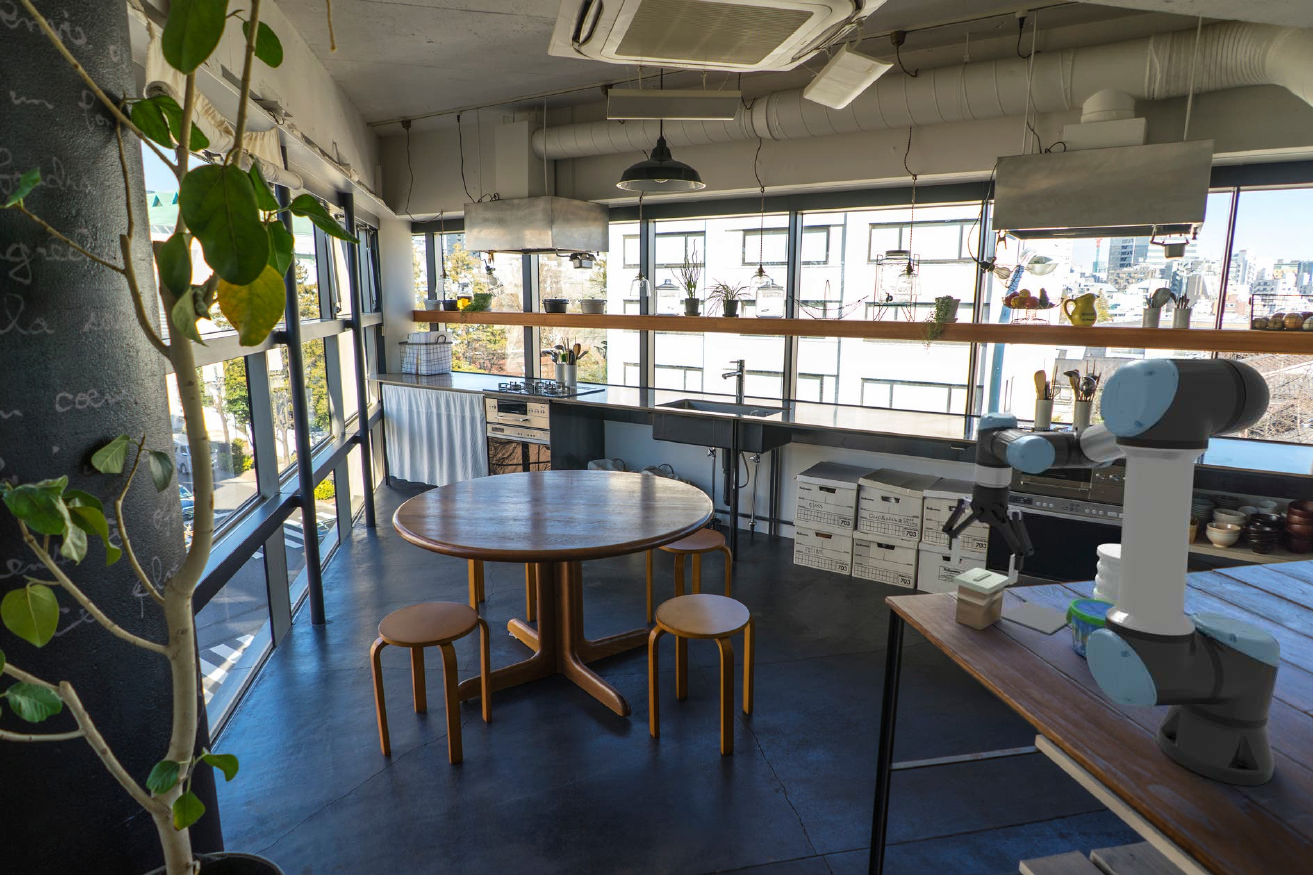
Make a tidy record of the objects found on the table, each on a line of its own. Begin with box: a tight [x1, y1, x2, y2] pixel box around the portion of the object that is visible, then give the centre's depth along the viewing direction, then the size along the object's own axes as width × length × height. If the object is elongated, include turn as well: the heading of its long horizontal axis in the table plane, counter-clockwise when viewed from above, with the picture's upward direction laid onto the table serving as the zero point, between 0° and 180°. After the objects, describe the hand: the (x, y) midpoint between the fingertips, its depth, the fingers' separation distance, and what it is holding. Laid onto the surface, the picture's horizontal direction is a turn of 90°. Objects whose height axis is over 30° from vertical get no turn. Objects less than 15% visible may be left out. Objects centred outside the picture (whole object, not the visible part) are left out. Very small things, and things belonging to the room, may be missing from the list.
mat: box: [1001, 600, 1069, 636], centre depth 167 cm, size 13×11×1 cm
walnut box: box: [954, 585, 1005, 631], centre depth 165 cm, size 9×6×9 cm
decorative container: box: [1093, 543, 1121, 605], centre depth 160 cm, size 12×12×18 cm
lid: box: [953, 567, 1009, 595], centre depth 164 cm, size 10×8×2 cm
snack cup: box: [1066, 598, 1115, 660], centre depth 149 cm, size 16×10×10 cm
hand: (982, 573), depth 163 cm, fingers open, 13 cm apart
